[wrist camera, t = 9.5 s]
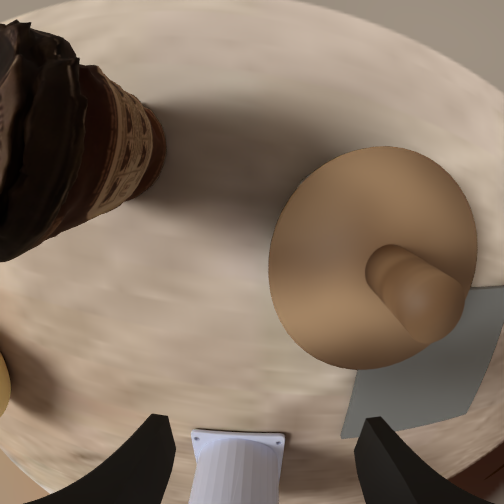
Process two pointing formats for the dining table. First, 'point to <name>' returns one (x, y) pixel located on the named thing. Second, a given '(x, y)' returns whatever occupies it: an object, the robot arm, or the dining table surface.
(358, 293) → the lid
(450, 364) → the plate
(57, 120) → the coffee cup
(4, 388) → the sculpture
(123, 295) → the dining table surface
